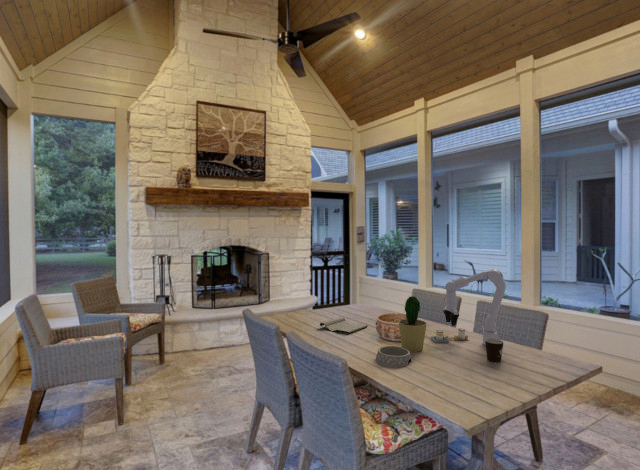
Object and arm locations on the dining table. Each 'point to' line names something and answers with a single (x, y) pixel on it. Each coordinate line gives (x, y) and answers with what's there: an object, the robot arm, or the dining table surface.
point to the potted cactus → (412, 327)
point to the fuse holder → (457, 338)
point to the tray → (440, 340)
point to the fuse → (461, 334)
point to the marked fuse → (439, 335)
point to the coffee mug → (494, 350)
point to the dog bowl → (393, 356)
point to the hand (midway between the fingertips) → (450, 323)
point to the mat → (342, 325)
